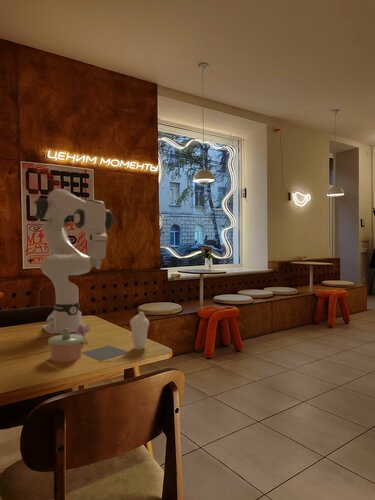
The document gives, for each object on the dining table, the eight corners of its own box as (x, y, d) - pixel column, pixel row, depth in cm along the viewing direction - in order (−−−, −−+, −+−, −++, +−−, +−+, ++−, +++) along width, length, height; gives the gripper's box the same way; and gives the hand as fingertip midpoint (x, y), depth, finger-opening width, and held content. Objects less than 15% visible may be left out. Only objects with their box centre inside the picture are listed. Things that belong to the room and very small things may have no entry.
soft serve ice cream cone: (130, 352, 148) (130, 313, 147) (128, 346, 156) (128, 310, 155) (150, 350, 150) (150, 312, 150) (147, 344, 158) (147, 309, 158)
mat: (80, 353, 146) (80, 352, 146) (109, 346, 156) (109, 345, 156) (100, 361, 136) (100, 360, 136) (129, 353, 146) (129, 352, 146)
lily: (95, 341, 166) (86, 323, 167) (102, 337, 157) (92, 318, 158) (71, 354, 159) (61, 335, 160) (77, 351, 149) (67, 330, 151)
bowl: (45, 358, 139) (45, 340, 139) (71, 352, 148) (71, 335, 147) (59, 365, 132) (59, 346, 132) (86, 358, 140) (86, 340, 140)
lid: (42, 340, 139) (42, 328, 139) (72, 334, 149) (72, 322, 149) (58, 347, 130) (58, 334, 130) (89, 340, 140) (89, 328, 140)
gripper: (83, 236, 164) (83, 266, 164) (93, 236, 146) (93, 270, 146) (97, 236, 167) (97, 266, 167) (108, 236, 149) (108, 269, 149)
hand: (95, 268), depth 157 cm, fingers open, 8 cm apart
